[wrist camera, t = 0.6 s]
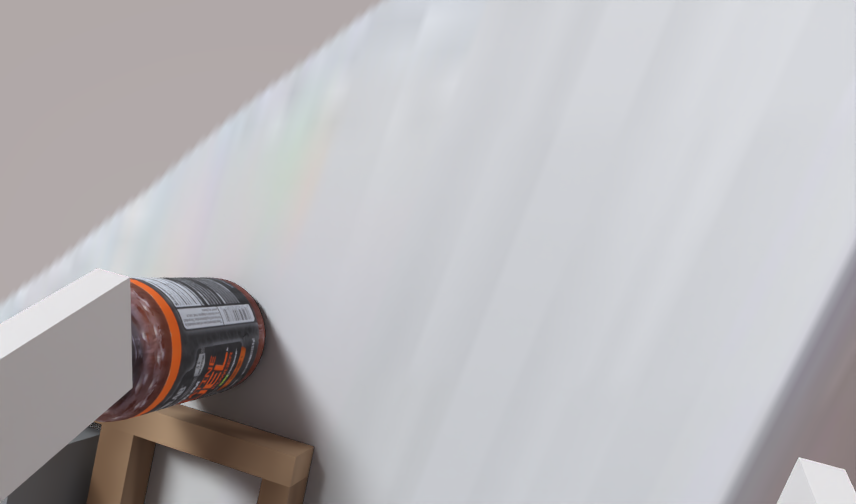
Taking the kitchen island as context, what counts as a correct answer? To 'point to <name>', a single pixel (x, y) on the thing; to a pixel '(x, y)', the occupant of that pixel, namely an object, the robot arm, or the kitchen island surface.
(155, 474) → the kitchen island surface
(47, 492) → the block
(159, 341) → the supplement bottle
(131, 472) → the brown wooden frame
